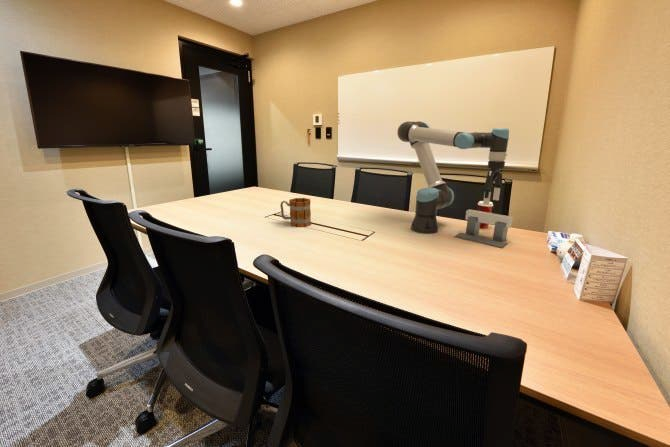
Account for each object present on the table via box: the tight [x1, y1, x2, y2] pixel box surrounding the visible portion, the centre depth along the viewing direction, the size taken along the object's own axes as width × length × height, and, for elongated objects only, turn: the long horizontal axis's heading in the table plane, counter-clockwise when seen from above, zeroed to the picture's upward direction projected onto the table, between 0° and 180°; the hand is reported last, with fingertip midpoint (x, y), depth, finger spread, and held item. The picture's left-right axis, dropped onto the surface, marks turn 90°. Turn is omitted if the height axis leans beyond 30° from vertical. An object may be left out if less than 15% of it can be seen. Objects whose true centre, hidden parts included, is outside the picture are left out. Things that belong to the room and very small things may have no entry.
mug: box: [280, 197, 312, 228], centre depth 189 cm, size 20×14×15 cm
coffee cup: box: [477, 200, 494, 229], centre depth 182 cm, size 8×8×15 cm
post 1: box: [465, 217, 481, 236], centre depth 170 cm, size 4×7×10 cm, turn 135°
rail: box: [464, 208, 514, 229], centre depth 164 cm, size 22×4×5 cm, turn 45°
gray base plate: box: [454, 232, 508, 249], centre depth 162 cm, size 24×8×1 cm, turn 45°
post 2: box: [492, 222, 509, 242], centre depth 161 cm, size 4×7×10 cm, turn 135°
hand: (491, 202), depth 161 cm, fingers open, 13 cm apart
